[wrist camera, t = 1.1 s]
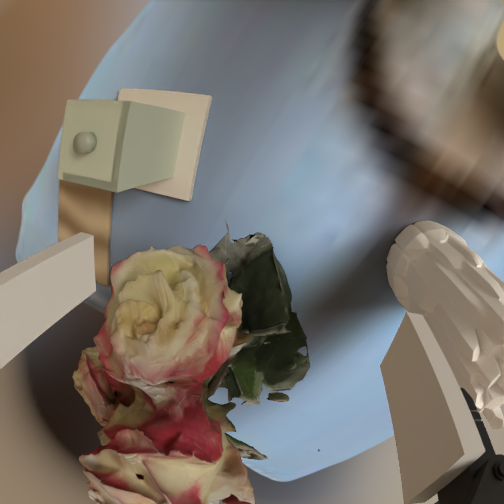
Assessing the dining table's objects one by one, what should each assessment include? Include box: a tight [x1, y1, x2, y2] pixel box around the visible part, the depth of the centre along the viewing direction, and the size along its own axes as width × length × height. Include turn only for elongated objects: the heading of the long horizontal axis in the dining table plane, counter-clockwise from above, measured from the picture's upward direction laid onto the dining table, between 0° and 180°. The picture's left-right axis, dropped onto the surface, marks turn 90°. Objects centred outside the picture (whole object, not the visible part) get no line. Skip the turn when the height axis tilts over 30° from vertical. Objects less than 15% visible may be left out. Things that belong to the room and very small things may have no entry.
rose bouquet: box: [72, 223, 320, 504], centre depth 28 cm, size 26×29×30 cm
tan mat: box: [59, 179, 113, 287], centre depth 41 cm, size 16×11×1 cm
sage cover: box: [58, 100, 186, 193], centre depth 28 cm, size 8×8×13 cm
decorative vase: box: [386, 221, 504, 429], centre depth 22 cm, size 11×11×25 cm
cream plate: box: [118, 88, 212, 201], centre depth 33 cm, size 13×13×3 cm
